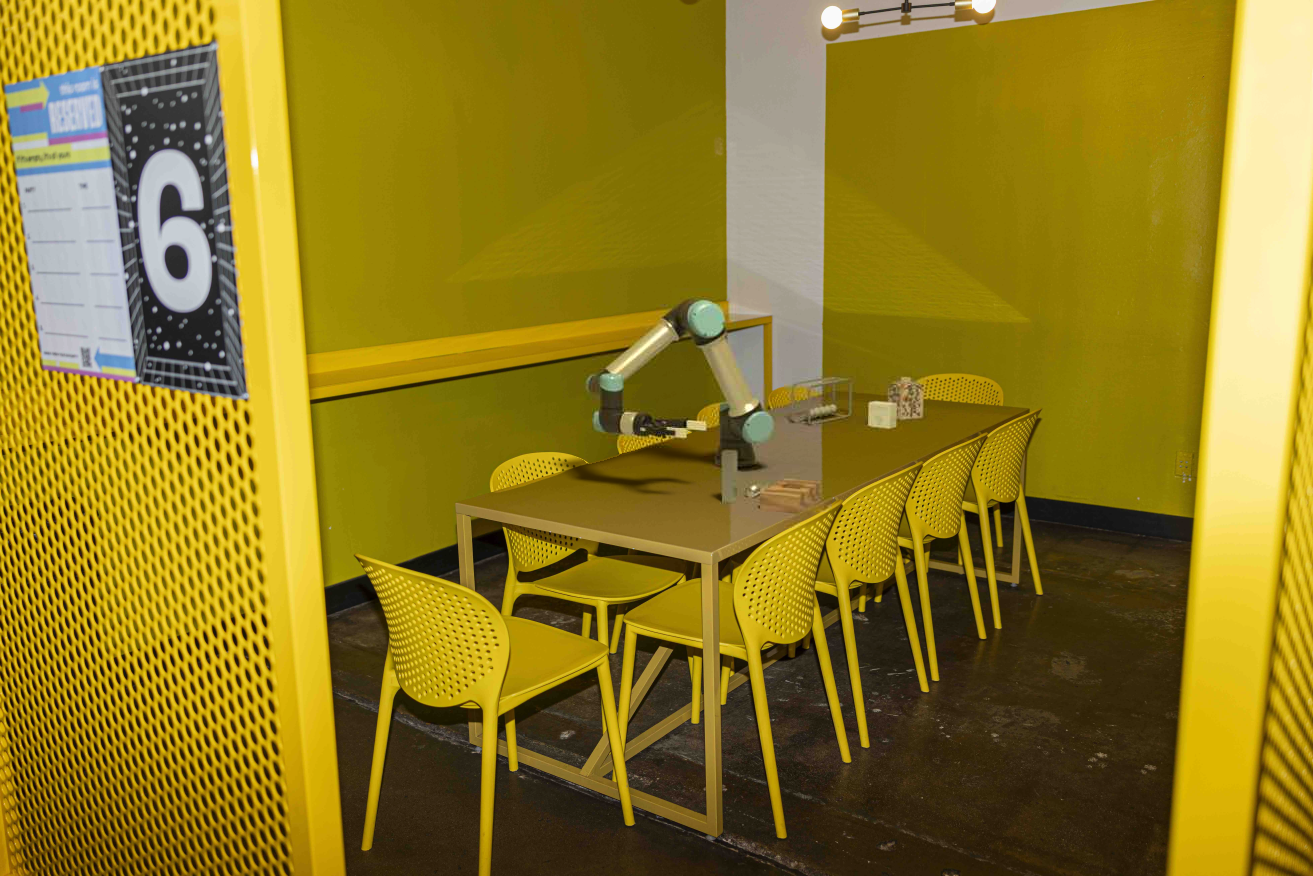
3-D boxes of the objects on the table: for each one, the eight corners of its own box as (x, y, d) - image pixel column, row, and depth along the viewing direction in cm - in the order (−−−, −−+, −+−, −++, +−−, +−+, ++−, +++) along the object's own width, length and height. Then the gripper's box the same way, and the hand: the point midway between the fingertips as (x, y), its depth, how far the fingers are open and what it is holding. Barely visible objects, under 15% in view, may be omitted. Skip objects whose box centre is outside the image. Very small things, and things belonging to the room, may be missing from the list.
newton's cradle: (809, 426, 424) (809, 385, 420) (790, 423, 431) (790, 383, 428) (851, 416, 443) (852, 378, 440) (833, 414, 451) (833, 375, 447)
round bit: (766, 492, 318) (756, 488, 320) (769, 482, 317) (759, 478, 318) (753, 499, 310) (743, 495, 311) (757, 489, 309) (747, 485, 310)
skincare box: (896, 426, 418) (897, 402, 416) (889, 429, 413) (890, 404, 411) (874, 424, 425) (875, 400, 423) (867, 426, 420) (868, 402, 418)
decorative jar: (886, 416, 443) (887, 376, 439) (909, 414, 446) (910, 375, 443) (900, 420, 432) (901, 380, 428) (923, 418, 435) (925, 378, 432)
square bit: (727, 499, 308) (726, 449, 305) (737, 500, 307) (737, 450, 304) (722, 502, 305) (721, 451, 302) (732, 503, 304) (732, 453, 300)
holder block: (784, 493, 314) (785, 478, 313) (820, 497, 308) (820, 482, 307) (760, 508, 297) (760, 492, 296) (797, 513, 291) (797, 497, 290)
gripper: (656, 429, 329) (713, 434, 319) (617, 442, 308) (677, 448, 298) (656, 407, 328) (713, 412, 317) (617, 419, 306) (677, 424, 296)
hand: (695, 429), depth 308 cm, fingers open, 13 cm apart
